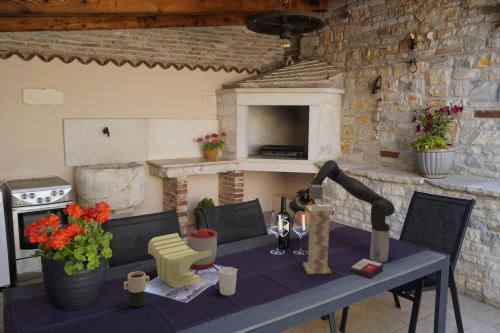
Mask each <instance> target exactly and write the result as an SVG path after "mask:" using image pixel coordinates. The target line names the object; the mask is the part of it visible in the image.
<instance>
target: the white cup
mask: <svg viewBox="0 0 500 333" xmlns="http://www.w3.org/2000/svg"><path fill="white" fill-rule="evenodd" d="M237 272H238V270H237V268H234V267H231V266H225V267H221V268H219V269H218V283H219V284H218V285H219V293H220V295H223V296H233V295H234V294H235V293H236V286H237V285H236V284H237V276H238V275H237Z"/></svg>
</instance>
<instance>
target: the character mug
mask: <svg viewBox="0 0 500 333" xmlns="http://www.w3.org/2000/svg"><path fill="white" fill-rule="evenodd" d="M148 284H150V275H146V273H145V272H144V271H138V270H136V271H132V272H129V273H128V274H127V281H124V282H123V290H128V292H130V293H129V300H128V305H129V306H131V307H134V308H140V307H142V306H144V305H145V304H146V298H145V293H144V292H145V290H146V288H147V285H148Z"/></svg>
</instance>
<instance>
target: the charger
mask: <svg viewBox="0 0 500 333" xmlns="http://www.w3.org/2000/svg"><path fill="white" fill-rule="evenodd" d="M308 186H309V187H308ZM308 186H307V187H306V188H305V189H307V188H309V193H307V194H309V196H310V197H311V198H312V200H323V195H324V194H323V192H324V187H323V186H322V185H321V186H320V185H310V184H309V185H308Z"/></svg>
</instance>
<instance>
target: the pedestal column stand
mask: <svg viewBox="0 0 500 333" xmlns="http://www.w3.org/2000/svg"><path fill="white" fill-rule="evenodd" d="M312 205H313V204H311V205H309V204H308V205H305V206H304V209H305V212H307V213H308V215H309V229H308V232H309V233H308V250H307V252H308V253H307V261H302V262H301V265H302V267H303V269H304V270H305V272H306V274H307V275H316V274H317V275H318V274H319V275H322V274H323V275H324V274H326V275H327V273H329V274H332V269H331V268H330V267H329V266H328V258H329V256H328V254H329V241H330V240H329V238H330V222H331V221H330V220H331V219H330V218H331V216H335V210H334V209H333V211H312V210H311V209H312Z"/></svg>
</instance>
